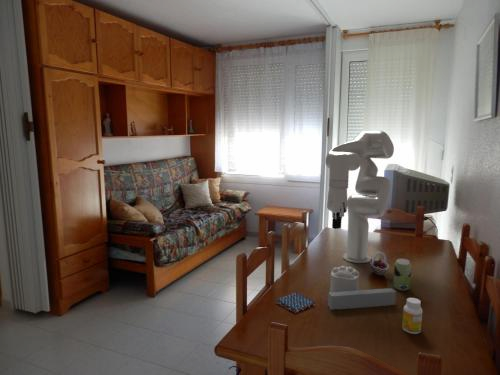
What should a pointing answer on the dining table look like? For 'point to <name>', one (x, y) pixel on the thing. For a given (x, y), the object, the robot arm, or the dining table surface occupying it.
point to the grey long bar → (361, 298)
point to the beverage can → (402, 274)
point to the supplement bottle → (412, 316)
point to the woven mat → (295, 302)
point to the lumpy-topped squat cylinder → (344, 279)
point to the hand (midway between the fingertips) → (336, 228)
